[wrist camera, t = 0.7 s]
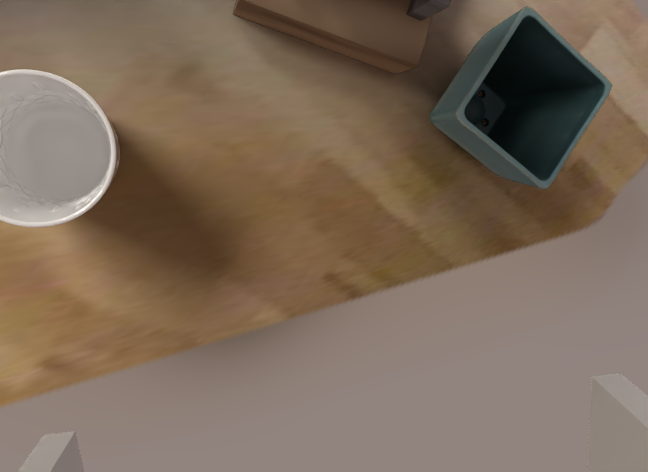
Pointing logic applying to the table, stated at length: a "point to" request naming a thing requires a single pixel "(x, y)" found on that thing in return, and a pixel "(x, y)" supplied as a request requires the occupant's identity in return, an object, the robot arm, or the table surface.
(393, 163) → the table surface
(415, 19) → the base
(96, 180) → the white cup
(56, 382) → the table surface
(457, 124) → the flower pot
